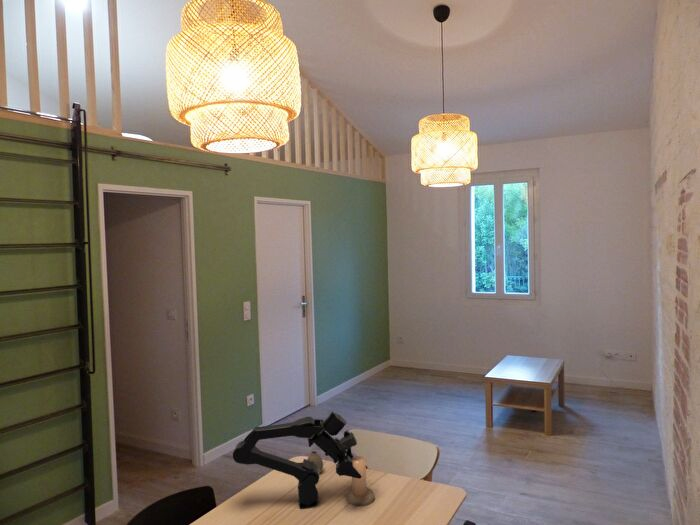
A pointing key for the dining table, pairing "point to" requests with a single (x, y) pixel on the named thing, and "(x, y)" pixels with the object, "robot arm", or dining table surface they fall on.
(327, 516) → the dining table surface
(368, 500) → the stand
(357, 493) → the tan tapered cylinder
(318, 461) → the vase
